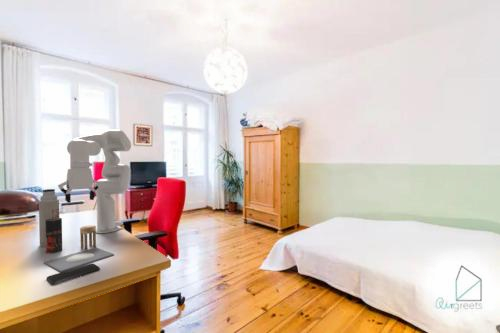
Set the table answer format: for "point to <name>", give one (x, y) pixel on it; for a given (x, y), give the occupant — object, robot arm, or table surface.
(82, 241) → the stool
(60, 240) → the deodorant
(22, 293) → the table surface
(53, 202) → the thermos bottle
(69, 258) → the mat
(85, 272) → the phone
